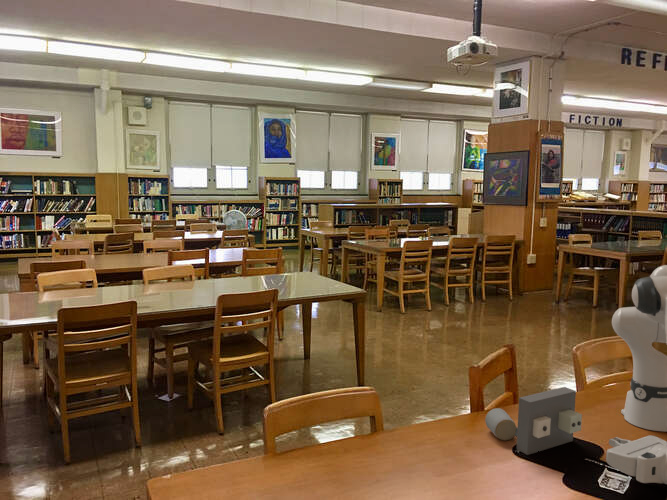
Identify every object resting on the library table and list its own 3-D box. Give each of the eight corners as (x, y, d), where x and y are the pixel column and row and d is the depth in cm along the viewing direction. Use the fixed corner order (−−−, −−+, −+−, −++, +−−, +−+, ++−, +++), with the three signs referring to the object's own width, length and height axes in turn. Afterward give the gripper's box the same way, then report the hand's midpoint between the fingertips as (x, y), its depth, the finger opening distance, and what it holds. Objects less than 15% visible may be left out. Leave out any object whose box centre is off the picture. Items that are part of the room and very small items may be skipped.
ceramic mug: (495, 442, 160) (496, 418, 159) (484, 430, 168) (485, 407, 167) (527, 441, 161) (529, 417, 160) (515, 429, 169) (516, 407, 169)
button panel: (561, 435, 165) (564, 386, 163) (572, 440, 162) (575, 391, 160) (516, 449, 156) (519, 397, 154) (527, 455, 152) (529, 402, 151)
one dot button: (536, 428, 158) (536, 412, 157) (550, 435, 153) (551, 418, 153) (524, 431, 155) (525, 415, 155) (538, 438, 151) (539, 422, 150)
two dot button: (566, 423, 161) (567, 408, 160) (582, 430, 156) (583, 414, 156) (555, 427, 159) (556, 411, 158) (570, 434, 154) (571, 417, 153)
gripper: (686, 442, 137) (635, 422, 150) (639, 460, 128) (589, 437, 140) (685, 465, 138) (634, 443, 150) (637, 484, 129) (587, 459, 141)
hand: (612, 440), depth 145 cm, fingers closed
